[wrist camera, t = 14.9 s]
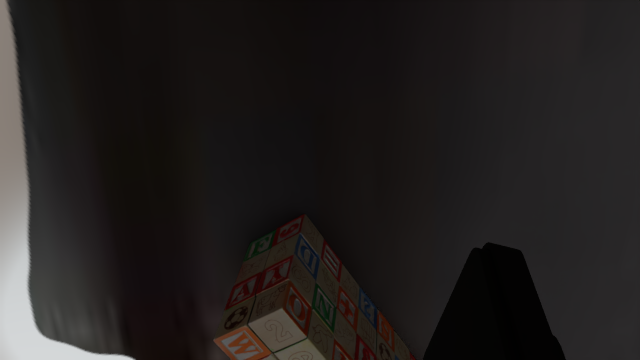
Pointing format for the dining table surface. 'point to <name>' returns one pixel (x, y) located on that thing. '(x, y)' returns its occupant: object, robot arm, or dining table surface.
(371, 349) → the stack of blocks
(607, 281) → the dining table surface
